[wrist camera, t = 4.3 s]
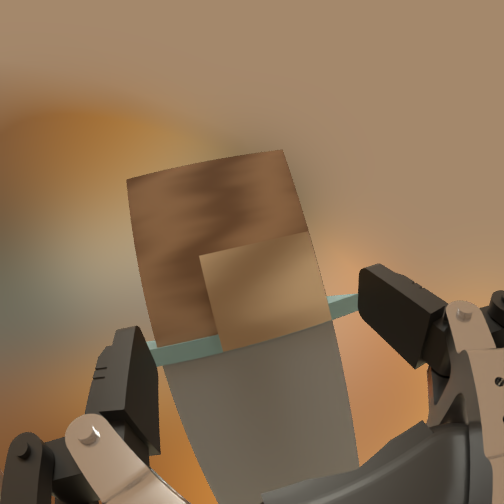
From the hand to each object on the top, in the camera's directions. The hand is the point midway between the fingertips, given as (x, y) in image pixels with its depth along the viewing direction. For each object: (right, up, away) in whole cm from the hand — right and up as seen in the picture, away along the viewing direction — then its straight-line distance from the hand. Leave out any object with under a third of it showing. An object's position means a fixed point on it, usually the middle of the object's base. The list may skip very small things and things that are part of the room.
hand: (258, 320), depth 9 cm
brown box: (0, -2, +4) cm, 4 cm away
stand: (+6, -31, +4) cm, 32 cm away
